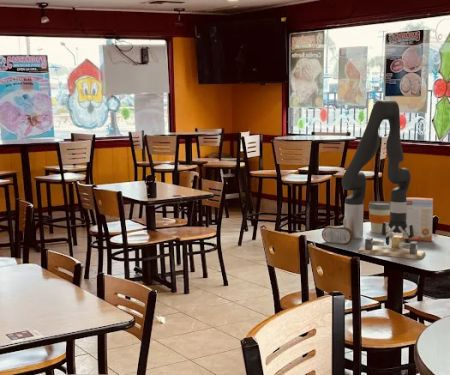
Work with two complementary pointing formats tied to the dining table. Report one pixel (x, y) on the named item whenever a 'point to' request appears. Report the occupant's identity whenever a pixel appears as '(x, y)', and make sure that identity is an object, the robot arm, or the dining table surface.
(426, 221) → the cracker box
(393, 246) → the coupler
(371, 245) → the shaft rig
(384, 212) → the reusable coffee cup
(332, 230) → the tin
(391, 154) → the robot arm
